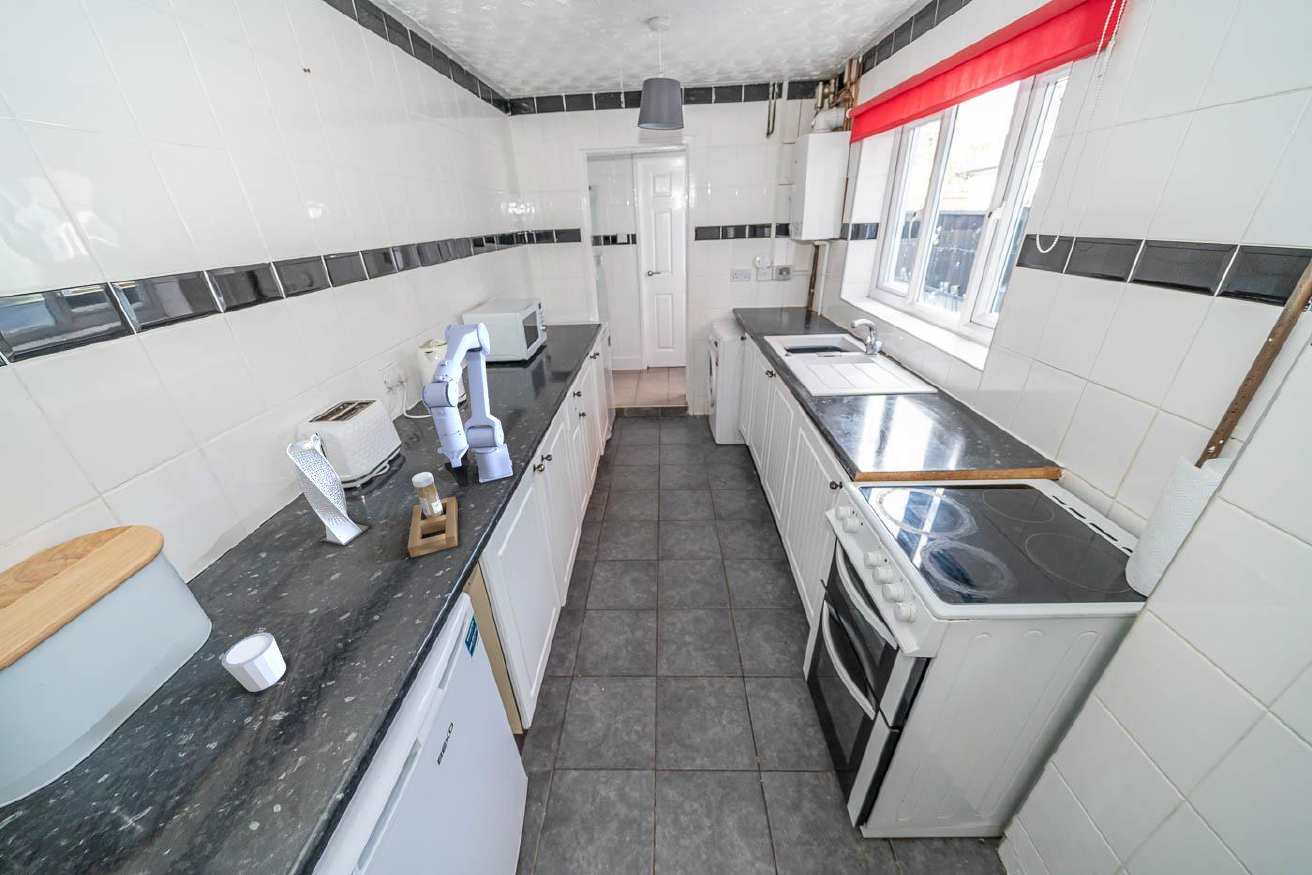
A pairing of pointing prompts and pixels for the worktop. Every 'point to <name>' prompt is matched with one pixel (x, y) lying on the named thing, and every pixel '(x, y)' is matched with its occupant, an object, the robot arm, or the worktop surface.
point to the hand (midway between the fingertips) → (464, 478)
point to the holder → (433, 529)
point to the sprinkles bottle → (428, 495)
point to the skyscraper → (323, 490)
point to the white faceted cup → (255, 661)
